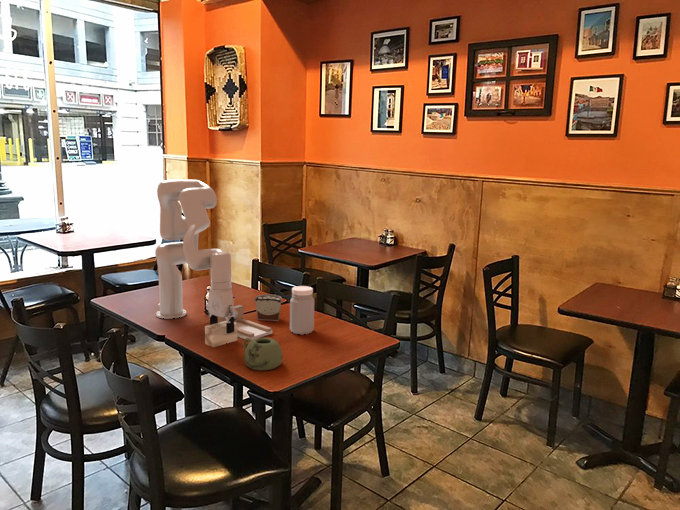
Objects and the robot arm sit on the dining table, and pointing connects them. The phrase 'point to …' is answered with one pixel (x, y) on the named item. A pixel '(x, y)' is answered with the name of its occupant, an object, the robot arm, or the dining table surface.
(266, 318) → the food container
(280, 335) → the dining table surface
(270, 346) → the green rounded hollow pot
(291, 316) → the jar
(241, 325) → the floor frame
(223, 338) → the beige rectangular block
